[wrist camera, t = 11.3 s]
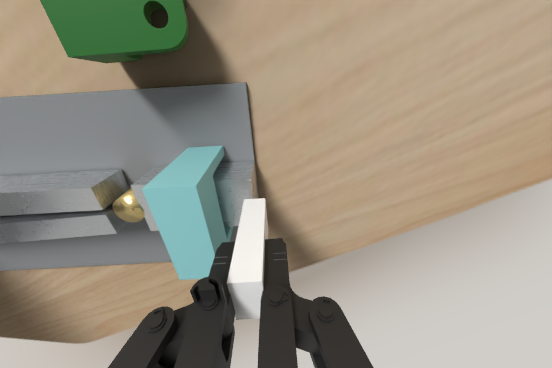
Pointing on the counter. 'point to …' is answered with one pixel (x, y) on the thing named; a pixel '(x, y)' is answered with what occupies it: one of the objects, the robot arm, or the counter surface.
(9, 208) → the tongs body
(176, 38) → the clamp
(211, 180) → the collar
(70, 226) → the arm
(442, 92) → the counter surface
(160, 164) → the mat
